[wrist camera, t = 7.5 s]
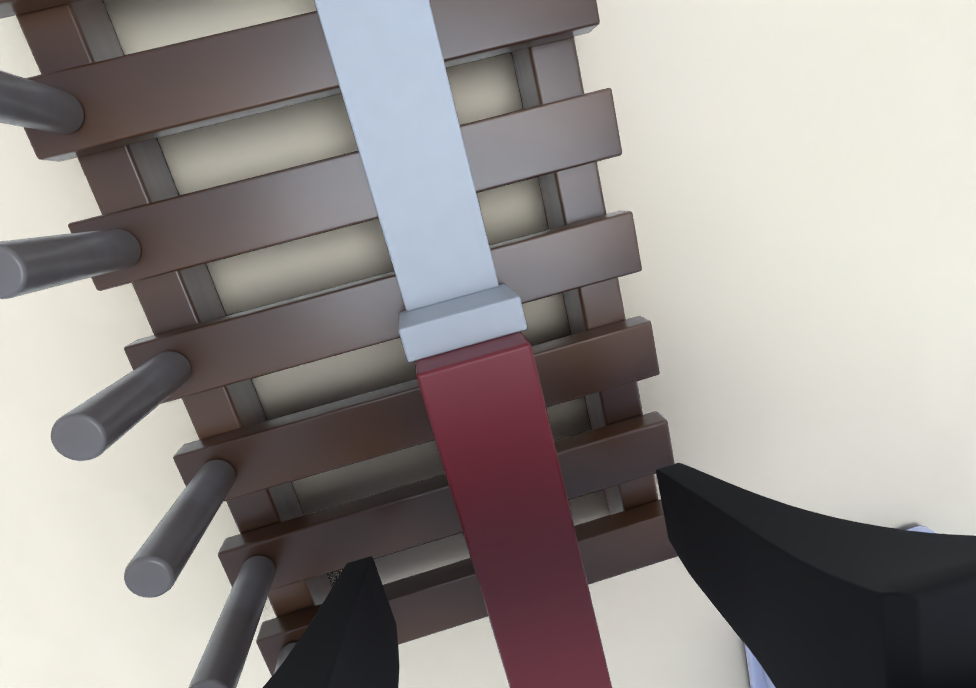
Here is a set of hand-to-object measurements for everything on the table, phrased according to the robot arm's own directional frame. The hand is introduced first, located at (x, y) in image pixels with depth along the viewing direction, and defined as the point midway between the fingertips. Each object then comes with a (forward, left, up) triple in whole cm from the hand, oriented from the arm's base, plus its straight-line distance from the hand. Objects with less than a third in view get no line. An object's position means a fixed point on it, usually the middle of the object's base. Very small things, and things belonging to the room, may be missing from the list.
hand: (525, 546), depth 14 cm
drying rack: (+6, +2, -5) cm, 8 cm away
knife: (+6, 0, -3) cm, 7 cm away
